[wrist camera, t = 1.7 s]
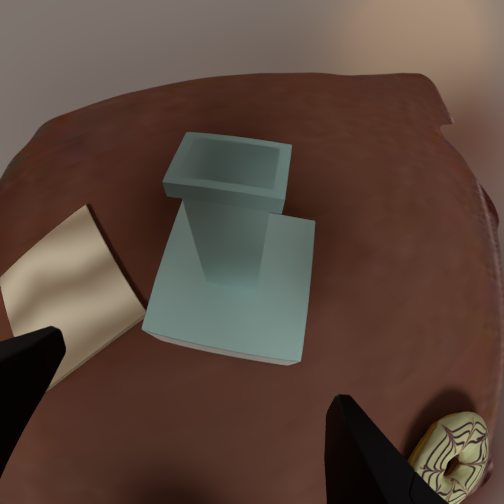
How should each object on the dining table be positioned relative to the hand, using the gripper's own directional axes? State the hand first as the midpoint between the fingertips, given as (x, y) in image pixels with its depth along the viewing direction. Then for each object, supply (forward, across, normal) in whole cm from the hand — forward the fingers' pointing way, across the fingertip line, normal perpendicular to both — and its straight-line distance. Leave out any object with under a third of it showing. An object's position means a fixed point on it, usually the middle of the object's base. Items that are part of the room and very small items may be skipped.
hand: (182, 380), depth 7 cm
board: (+12, +16, +7) cm, 21 cm away
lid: (+12, 0, +2) cm, 13 cm away
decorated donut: (+4, -22, +15) cm, 27 cm away
